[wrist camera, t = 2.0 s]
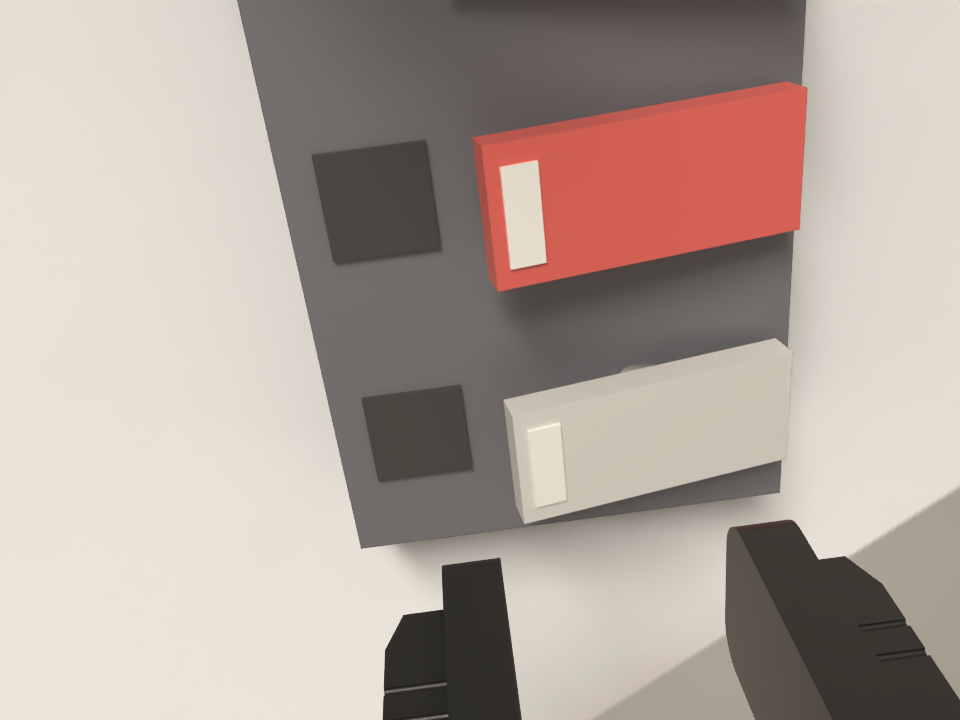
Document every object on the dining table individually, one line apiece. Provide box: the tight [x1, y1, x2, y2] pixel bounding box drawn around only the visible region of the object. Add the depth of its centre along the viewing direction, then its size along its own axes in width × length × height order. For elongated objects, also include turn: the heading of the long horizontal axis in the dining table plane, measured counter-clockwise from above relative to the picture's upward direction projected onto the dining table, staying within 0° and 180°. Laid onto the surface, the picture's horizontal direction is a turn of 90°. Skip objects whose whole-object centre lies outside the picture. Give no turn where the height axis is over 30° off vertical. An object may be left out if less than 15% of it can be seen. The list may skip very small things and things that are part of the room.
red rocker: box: [472, 81, 807, 292], centre depth 25 cm, size 9×4×2 cm, turn 97°
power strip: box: [237, 0, 806, 549], centre depth 28 cm, size 15×25×4 cm, turn 7°
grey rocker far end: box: [503, 338, 792, 524], centre depth 29 cm, size 9×4×2 cm, turn 97°
